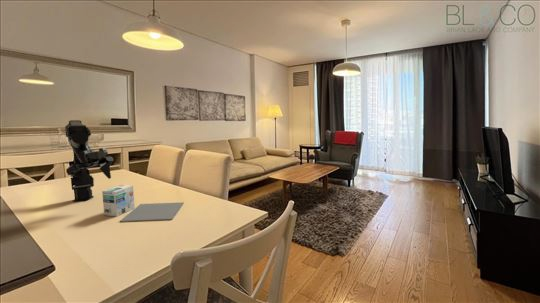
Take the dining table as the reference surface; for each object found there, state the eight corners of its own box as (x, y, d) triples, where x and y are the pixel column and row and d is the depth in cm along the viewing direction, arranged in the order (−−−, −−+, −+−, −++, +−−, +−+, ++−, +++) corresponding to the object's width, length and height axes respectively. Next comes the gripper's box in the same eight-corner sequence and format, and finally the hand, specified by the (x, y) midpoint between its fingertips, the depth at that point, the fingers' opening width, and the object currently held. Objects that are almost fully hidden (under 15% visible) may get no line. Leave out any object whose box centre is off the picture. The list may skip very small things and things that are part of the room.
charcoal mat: (120, 222, 98) (119, 220, 98) (140, 204, 118) (140, 203, 118) (172, 219, 101) (172, 218, 101) (183, 203, 120) (183, 202, 120)
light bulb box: (117, 216, 104) (114, 191, 103) (103, 215, 105) (101, 191, 104) (135, 208, 114) (133, 185, 113) (122, 207, 116) (121, 184, 114)
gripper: (73, 145, 99) (93, 179, 100) (112, 139, 117) (129, 168, 118) (56, 158, 103) (76, 190, 103) (97, 150, 121) (114, 178, 121)
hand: (101, 181), depth 111 cm, fingers open, 9 cm apart
